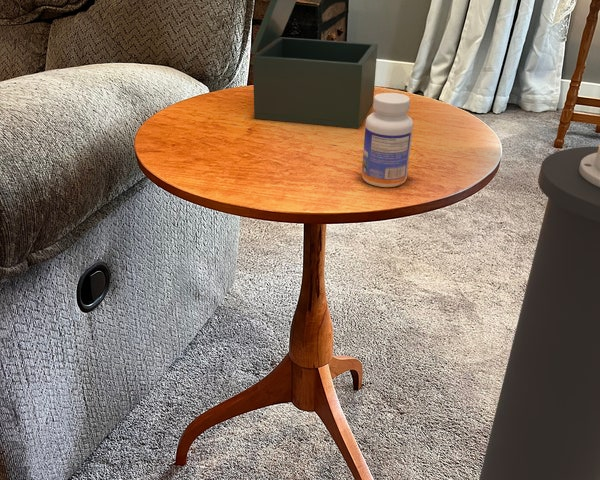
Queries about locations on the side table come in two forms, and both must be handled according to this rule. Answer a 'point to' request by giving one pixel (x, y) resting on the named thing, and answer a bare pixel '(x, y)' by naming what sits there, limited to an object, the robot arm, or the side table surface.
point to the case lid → (273, 23)
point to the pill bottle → (387, 141)
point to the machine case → (314, 81)
